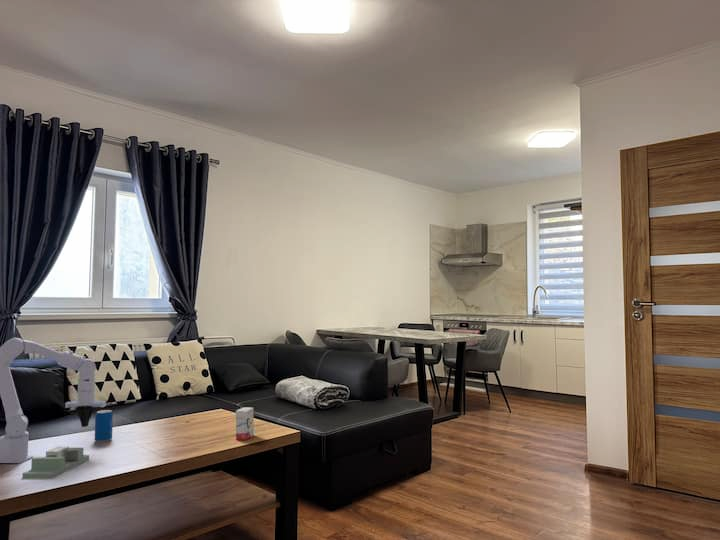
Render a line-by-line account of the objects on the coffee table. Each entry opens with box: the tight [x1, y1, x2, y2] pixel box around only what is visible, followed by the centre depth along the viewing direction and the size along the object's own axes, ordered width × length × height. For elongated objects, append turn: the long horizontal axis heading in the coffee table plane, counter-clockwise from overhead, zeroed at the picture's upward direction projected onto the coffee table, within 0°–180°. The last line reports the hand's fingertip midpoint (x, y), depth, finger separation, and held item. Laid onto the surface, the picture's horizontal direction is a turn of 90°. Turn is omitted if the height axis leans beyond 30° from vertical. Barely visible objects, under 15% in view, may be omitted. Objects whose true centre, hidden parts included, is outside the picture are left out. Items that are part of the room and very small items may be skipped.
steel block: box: [45, 446, 70, 463], centre depth 168 cm, size 4×6×5 cm, turn 178°
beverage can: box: [94, 409, 114, 443], centre depth 203 cm, size 6×6×12 cm
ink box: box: [235, 406, 255, 441], centre depth 206 cm, size 9×5×12 cm, turn 171°
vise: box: [21, 454, 90, 479], centre depth 168 cm, size 10×20×5 cm, turn 178°
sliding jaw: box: [68, 447, 85, 460], centre depth 172 cm, size 10×4×4 cm, turn 88°
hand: (84, 426), depth 188 cm, fingers closed
